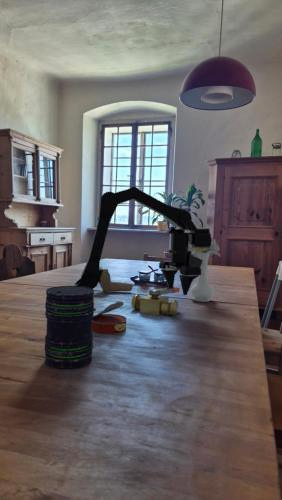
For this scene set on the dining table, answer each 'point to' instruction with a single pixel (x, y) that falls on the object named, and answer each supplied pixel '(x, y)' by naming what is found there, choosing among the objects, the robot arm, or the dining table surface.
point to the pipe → (113, 284)
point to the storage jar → (69, 327)
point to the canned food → (109, 321)
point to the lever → (163, 291)
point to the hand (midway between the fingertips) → (177, 292)
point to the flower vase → (203, 273)
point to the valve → (155, 305)
